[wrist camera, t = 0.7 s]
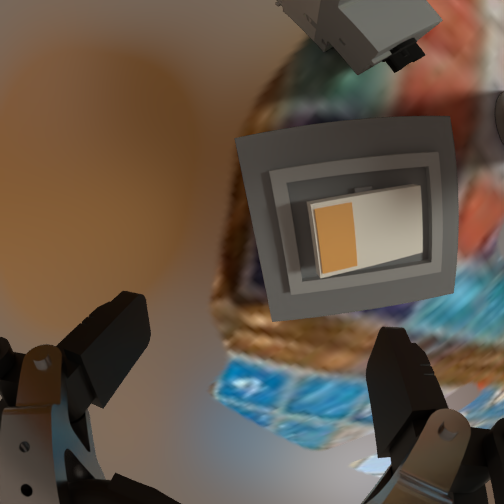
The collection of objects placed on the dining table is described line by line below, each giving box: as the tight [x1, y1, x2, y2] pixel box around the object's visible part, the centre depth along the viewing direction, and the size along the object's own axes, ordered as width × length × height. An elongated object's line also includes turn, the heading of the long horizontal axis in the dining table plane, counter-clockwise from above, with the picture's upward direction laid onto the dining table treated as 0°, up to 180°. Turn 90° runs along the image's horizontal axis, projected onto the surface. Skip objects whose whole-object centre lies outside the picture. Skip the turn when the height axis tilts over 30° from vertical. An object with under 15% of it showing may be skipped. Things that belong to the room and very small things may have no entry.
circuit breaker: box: [276, 0, 442, 75], centre depth 16 cm, size 8×14×15 cm, turn 38°
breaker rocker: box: [307, 184, 423, 278], centre depth 22 cm, size 10×6×1 cm, turn 101°
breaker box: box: [235, 116, 459, 322], centre depth 26 cm, size 20×18×7 cm
